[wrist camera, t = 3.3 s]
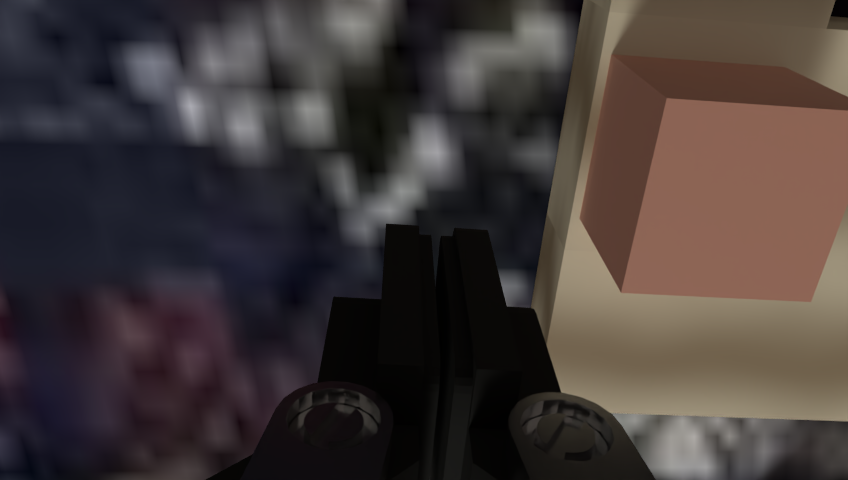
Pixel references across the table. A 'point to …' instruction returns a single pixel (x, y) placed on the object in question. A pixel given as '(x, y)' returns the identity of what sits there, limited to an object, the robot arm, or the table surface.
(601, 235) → the block
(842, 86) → the trap deck
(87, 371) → the table surface
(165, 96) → the table surface
